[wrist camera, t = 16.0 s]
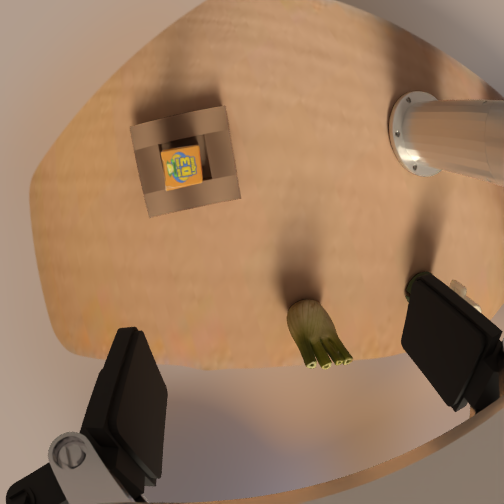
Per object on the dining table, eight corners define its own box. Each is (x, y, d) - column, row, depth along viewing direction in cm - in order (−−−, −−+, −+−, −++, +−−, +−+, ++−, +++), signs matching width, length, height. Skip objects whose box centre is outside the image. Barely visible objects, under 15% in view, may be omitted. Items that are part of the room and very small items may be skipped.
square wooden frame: (223, 109, 30) (225, 105, 27) (237, 192, 34) (241, 198, 31) (138, 128, 30) (129, 126, 26) (155, 209, 33) (149, 217, 30)
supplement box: (204, 172, 31) (204, 186, 22) (174, 176, 31) (160, 193, 22) (201, 143, 30) (199, 144, 21) (170, 147, 30) (154, 151, 21)
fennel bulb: (277, 315, 41) (302, 373, 30) (297, 287, 40) (329, 341, 29) (308, 328, 43) (338, 383, 32) (327, 303, 41) (364, 354, 30)
